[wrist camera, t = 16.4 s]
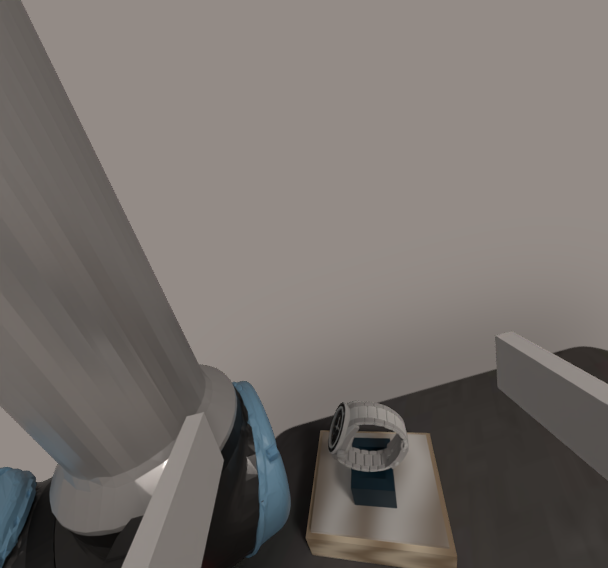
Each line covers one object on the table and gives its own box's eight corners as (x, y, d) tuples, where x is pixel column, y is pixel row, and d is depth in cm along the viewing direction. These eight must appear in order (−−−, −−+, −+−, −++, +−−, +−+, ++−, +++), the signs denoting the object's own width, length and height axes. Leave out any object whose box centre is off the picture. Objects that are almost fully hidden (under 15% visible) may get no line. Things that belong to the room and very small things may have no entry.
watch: (339, 453, 35) (323, 389, 31) (407, 455, 33) (401, 388, 29) (336, 504, 31) (317, 438, 26) (415, 511, 29) (410, 440, 24)
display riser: (312, 554, 30) (304, 536, 29) (325, 446, 41) (320, 428, 39) (456, 574, 27) (457, 554, 25) (429, 451, 37) (429, 431, 36)
